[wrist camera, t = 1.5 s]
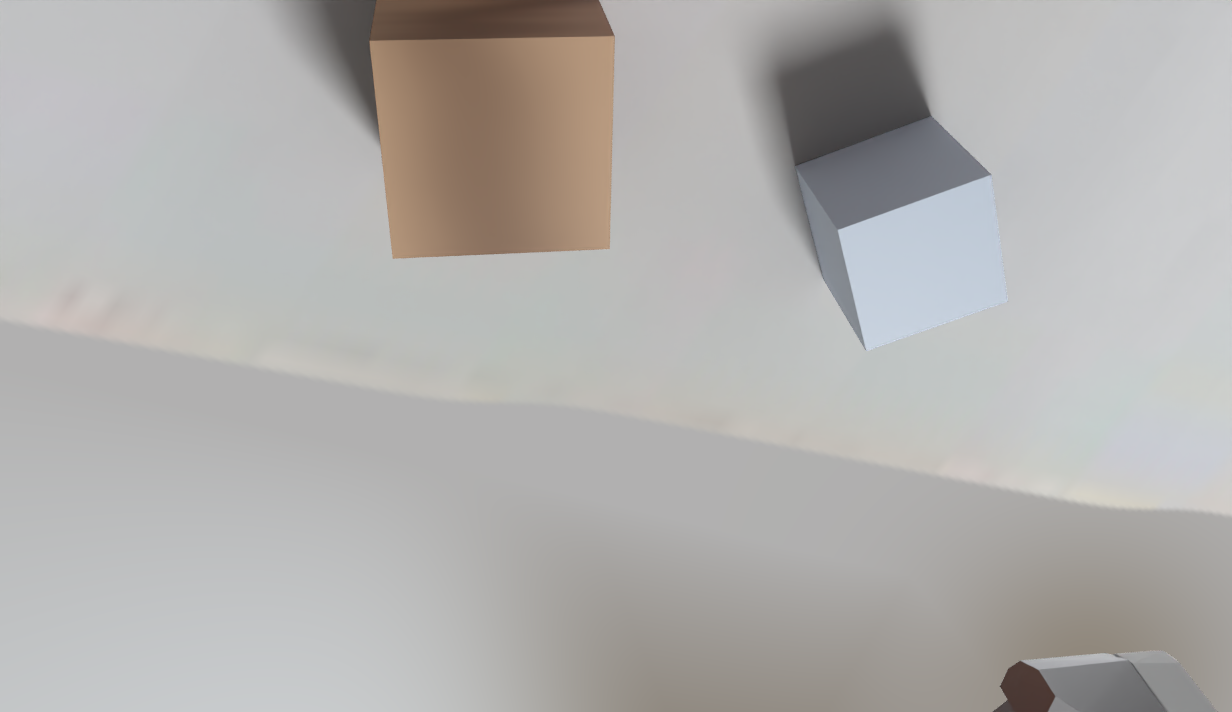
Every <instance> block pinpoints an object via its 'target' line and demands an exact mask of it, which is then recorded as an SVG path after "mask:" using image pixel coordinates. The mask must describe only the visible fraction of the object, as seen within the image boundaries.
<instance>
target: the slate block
mask: <svg viewBox="0 0 1232 712" xmlns="http://www.w3.org/2000/svg"><path fill="white" fill-rule="evenodd" d="M795 169H796V172H797V176H798V180H799V184H800V188H801V192H802V196H803V200H804V204H805V208H806V212H807V216H808V220H809V224H810V228H811V232H812V236H813V240H814V244H815V247H816V251H817V255H818V259H819V263H820V267H821V271H822V275H823V279H824V281H825V283H826V284H827V286H828V288H829V289H830V291H831V293H832V294H833V296H834V298H835V300H836V301H837V303H838V305H839V306H840V308H841V310H842V311H843V313H844V315H845V316H846V318H847V320H848V321H849V323H850V325H851V326H852V328H853V330H854V331H855V333H856V335H857V336H858V338H859V340H860V342H861V343H862V345H863V347H864V348H865V350H866V351H868V350H871V349H874V348H877V347H880V346H883V345H885V344H888V343H891V342H894V341H897V340H900V339H903V338H905V337H908V336H911V335H914V334H917V333H920V332H922V331H925V330H928V329H931V328H934V327H937V326H940V325H942V324H945V323H948V322H951V321H954V320H957V319H960V318H962V317H965V316H968V315H971V314H974V313H977V312H979V311H982V310H985V309H988V308H991V307H994V306H997V305H999V304H1002V303H1005V302H1008V299H1007V291H1006V283H1005V275H1004V268H1003V260H1002V252H1001V245H1000V237H999V229H998V222H997V214H996V206H995V199H994V191H993V183H992V176H991V174H990V173H989V172H988V171H987V170H986V169H985V168H984V167H983V166H982V165H981V164H980V163H979V162H978V161H977V160H976V159H975V158H974V157H973V156H972V155H971V154H970V153H969V152H968V151H967V150H966V149H964V148H963V147H962V146H961V145H960V144H959V143H958V142H957V141H956V140H955V139H954V138H953V137H952V136H951V135H950V134H949V133H948V132H947V131H946V130H945V129H944V128H943V127H942V126H941V125H940V124H939V123H938V122H937V121H936V120H935V119H934V118H933V117H932V116H930V117H927V118H925V119H922V120H919V121H916V122H914V123H911V124H908V125H906V126H903V127H900V128H897V129H895V130H892V131H889V132H886V133H884V134H881V135H878V136H876V137H873V138H870V139H867V140H865V141H862V142H859V143H857V144H854V145H851V146H848V147H846V148H843V149H840V150H838V151H835V152H832V153H829V154H827V155H824V156H821V157H819V158H816V159H813V160H810V161H808V162H805V163H802V164H799V165H797V166H795Z"/></svg>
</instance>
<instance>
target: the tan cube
mask: <svg viewBox="0 0 1232 712" xmlns="http://www.w3.org/2000/svg"><path fill="white" fill-rule="evenodd" d="M369 43H370V52H371V61H372V70H373V80H374V89H375V98H376V107H377V117H378V126H379V135H380V144H381V154H382V163H383V172H384V181H385V191H386V200H387V209H388V218H389V228H390V237H391V246H392V255H393V259H394V258H416V257H439V256H461V255H484V254H506V253H529V252H551V251H574V250H596V249H610V210H611V169H612V127H613V85H614V44H615V36H614V34H613V31H612V29H611V27H610V24H609V22H608V20H607V18H606V15H605V13H604V11H603V9H602V6H601V4H600V2H599V0H376V5H375V11H374V17H373V22H372V28H371V34H370V40H369Z"/></svg>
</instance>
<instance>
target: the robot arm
mask: <svg viewBox="0 0 1232 712" xmlns="http://www.w3.org/2000/svg"><path fill="white" fill-rule="evenodd" d="M1000 687H1001V689H1002V691H1003V693H1004V695H1005V696H1006V698H1007V701H1006V702H1004V703H1003V704H1002V705H1001V706H999V707H998V708H997V709H996V710H994V711H993V712H1218V711H1217V710H1216V709H1215V708H1214V706H1213V705H1212V704H1211V702H1210V701H1209V700H1208V698H1207V697H1206V696H1205V695H1204V693H1203V692H1202V691H1201V690H1200V688H1199V687H1198V686H1197V684H1196V683H1195V682H1194V680H1193V679H1192V678H1191V677H1190V675H1189V674H1188V673H1187V671H1186V670H1185V669H1184V668H1183V666H1182V665H1181V664H1180V663H1179V662H1178V661H1177V660H1176V659H1175V658H1173V657H1172V656H1170V655H1169V654H1167V653H1166V652H1164V651H1143V652H1131V653H1119V654H1111V655H1110V654H1107V653H1102V654H1089V655H1080V656H1079V655H1078V656H1067V657H1055V658H1044V659H1032V660H1021V661H1019V662H1017V663H1016V664H1014V665H1013V666H1011V667H1010V668H1009V669H1008V670H1007V672H1006V674H1005V677H1004V679H1003V681H1002V683H1001V685H1000Z"/></svg>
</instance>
